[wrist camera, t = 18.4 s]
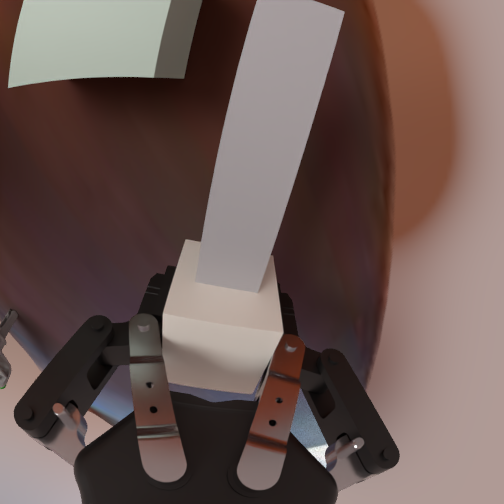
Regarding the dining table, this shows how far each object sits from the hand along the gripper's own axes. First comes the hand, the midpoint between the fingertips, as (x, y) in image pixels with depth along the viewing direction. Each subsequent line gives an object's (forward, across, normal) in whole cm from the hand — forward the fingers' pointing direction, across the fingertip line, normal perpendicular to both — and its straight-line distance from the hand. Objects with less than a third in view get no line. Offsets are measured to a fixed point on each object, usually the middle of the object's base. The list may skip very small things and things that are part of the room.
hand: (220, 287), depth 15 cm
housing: (+7, +9, -13) cm, 18 cm away
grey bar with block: (0, 0, -5) cm, 5 cm away
